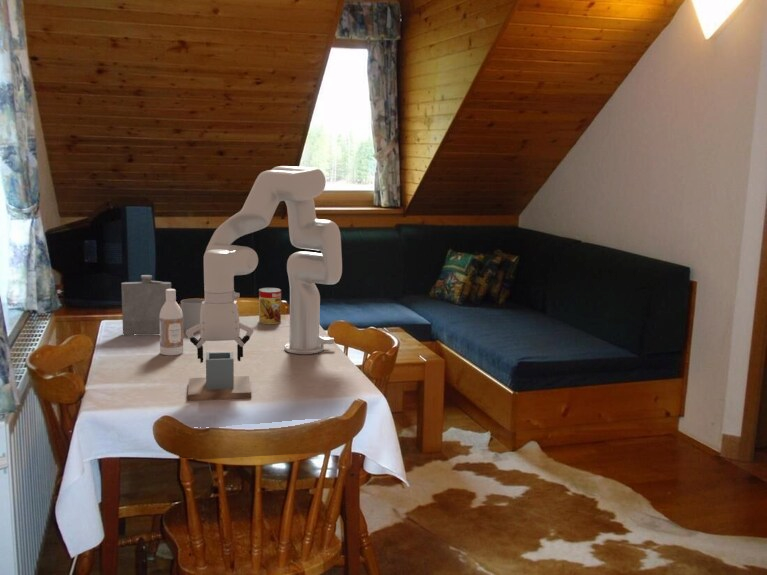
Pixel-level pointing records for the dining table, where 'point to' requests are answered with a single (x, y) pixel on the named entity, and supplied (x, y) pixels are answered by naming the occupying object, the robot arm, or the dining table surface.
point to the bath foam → (171, 326)
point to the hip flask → (143, 305)
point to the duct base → (200, 393)
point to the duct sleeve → (219, 370)
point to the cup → (191, 312)
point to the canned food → (269, 305)
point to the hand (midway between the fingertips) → (220, 360)
